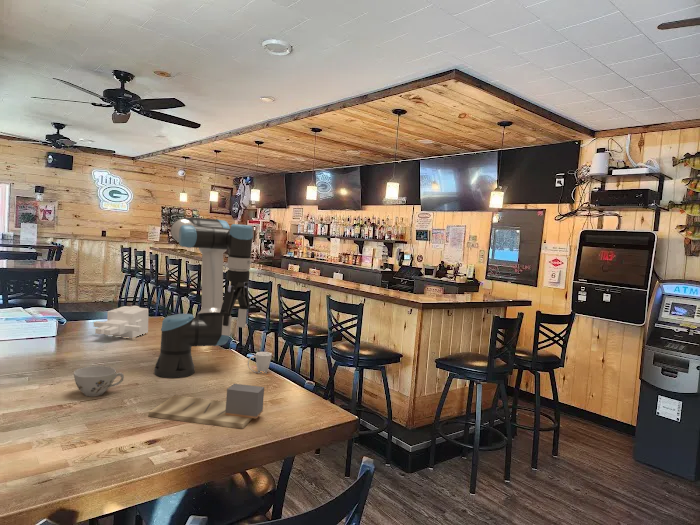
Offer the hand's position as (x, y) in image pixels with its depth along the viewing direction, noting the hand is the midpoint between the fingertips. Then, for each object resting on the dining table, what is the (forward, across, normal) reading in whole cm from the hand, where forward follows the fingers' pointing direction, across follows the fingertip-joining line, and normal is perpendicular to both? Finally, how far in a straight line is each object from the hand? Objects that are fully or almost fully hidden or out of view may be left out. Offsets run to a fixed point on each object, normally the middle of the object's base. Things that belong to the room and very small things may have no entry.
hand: (233, 331), depth 159 cm
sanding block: (+22, -14, -11) cm, 28 cm away
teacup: (+25, -10, +42) cm, 50 cm away
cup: (+26, +35, +1) cm, 43 cm away
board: (+24, -14, +2) cm, 28 cm away
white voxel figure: (+28, +66, +86) cm, 113 cm away
